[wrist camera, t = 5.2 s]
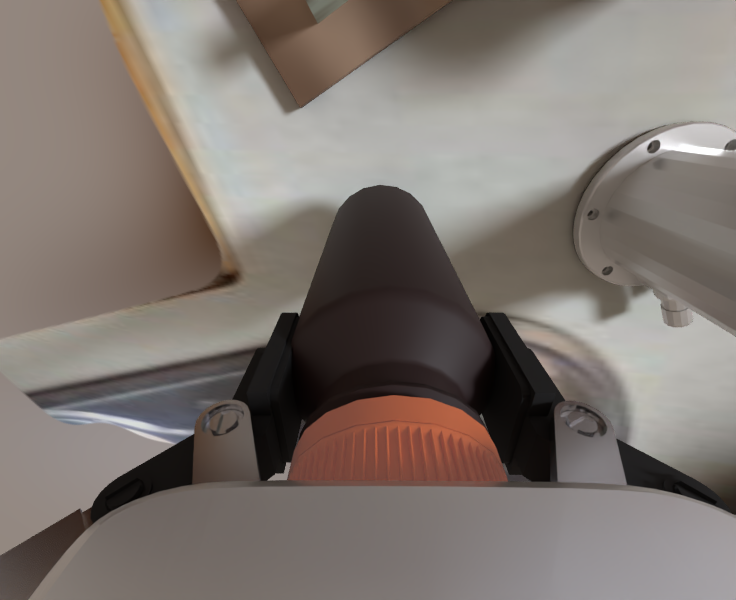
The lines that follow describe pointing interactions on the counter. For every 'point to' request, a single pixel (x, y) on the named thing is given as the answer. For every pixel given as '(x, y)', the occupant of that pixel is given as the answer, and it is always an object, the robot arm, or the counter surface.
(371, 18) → the u rest
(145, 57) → the counter surface
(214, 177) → the counter surface
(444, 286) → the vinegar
